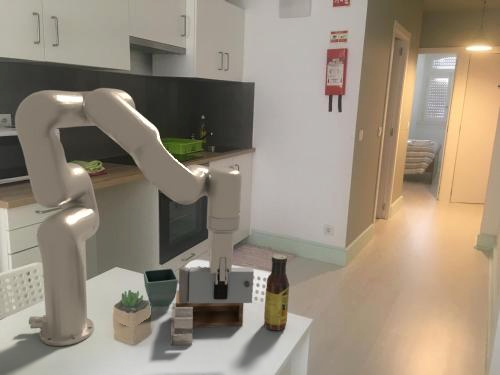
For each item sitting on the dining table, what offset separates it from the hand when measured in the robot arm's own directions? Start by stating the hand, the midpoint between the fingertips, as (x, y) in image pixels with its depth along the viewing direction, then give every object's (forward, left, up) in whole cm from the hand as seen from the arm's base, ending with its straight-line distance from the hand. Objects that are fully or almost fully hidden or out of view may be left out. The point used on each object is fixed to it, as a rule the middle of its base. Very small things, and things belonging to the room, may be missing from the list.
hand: (220, 295), depth 100 cm
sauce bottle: (+16, +10, -14) cm, 24 cm away
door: (-1, 0, -1) cm, 2 cm away
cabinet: (-2, +14, -14) cm, 20 cm away
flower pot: (-16, +24, -14) cm, 32 cm away
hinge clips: (-9, +6, -14) cm, 18 cm away
